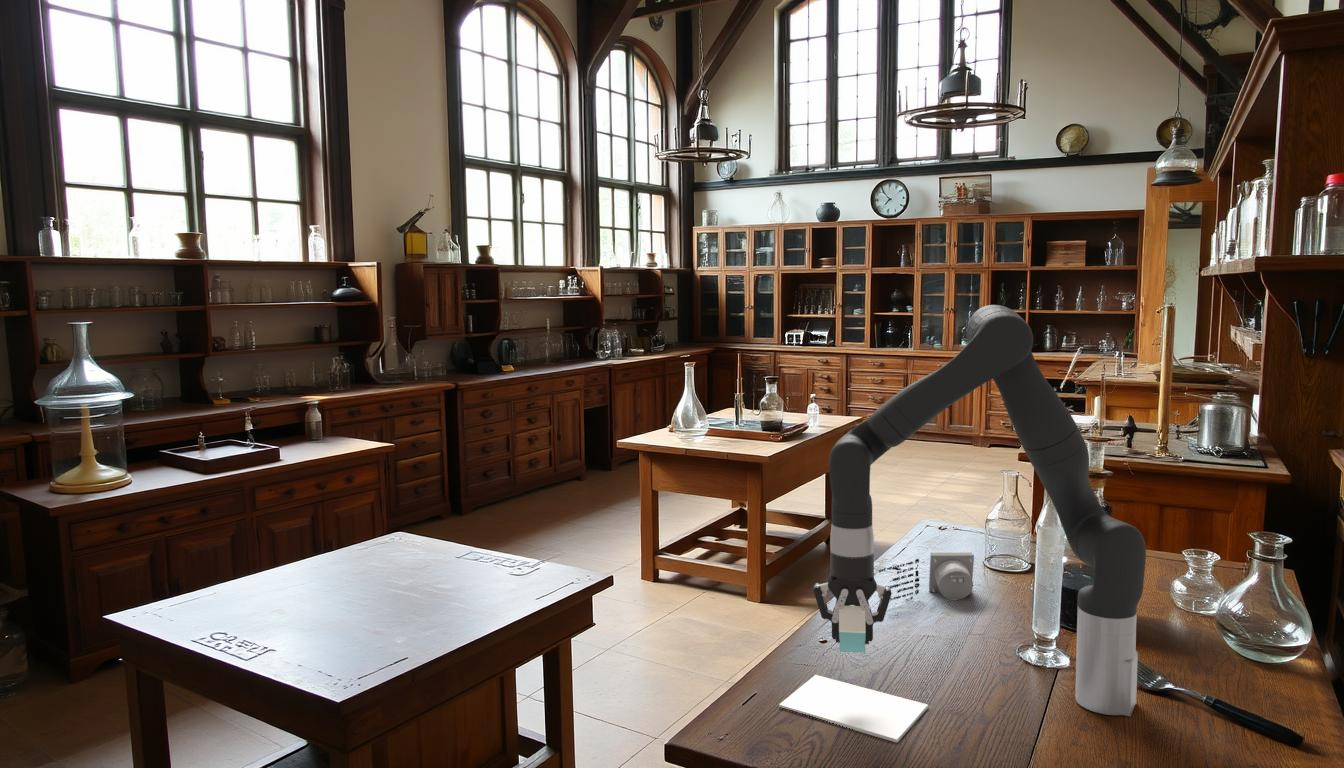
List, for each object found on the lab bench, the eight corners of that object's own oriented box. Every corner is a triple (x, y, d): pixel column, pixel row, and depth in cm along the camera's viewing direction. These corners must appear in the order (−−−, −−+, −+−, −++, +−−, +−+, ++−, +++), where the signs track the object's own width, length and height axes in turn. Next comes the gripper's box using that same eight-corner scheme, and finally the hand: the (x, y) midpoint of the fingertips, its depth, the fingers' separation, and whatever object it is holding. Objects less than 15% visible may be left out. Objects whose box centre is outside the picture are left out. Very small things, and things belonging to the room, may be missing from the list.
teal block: (864, 629, 162) (865, 606, 155) (865, 652, 160) (865, 630, 152) (839, 627, 163) (838, 605, 156) (839, 651, 161) (839, 629, 153)
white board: (928, 707, 155) (928, 704, 155) (897, 742, 144) (897, 739, 144) (815, 677, 168) (815, 674, 168) (779, 707, 157) (779, 704, 157)
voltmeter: (951, 583, 217) (951, 544, 216) (989, 597, 207) (989, 556, 206) (869, 606, 204) (869, 564, 203) (905, 622, 194) (905, 578, 193)
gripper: (809, 554, 153) (810, 648, 155) (894, 556, 150) (894, 652, 152) (811, 541, 160) (812, 631, 162) (892, 543, 157) (892, 635, 159)
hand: (852, 641), depth 157 cm, fingers closed on teal block, 4 cm apart
